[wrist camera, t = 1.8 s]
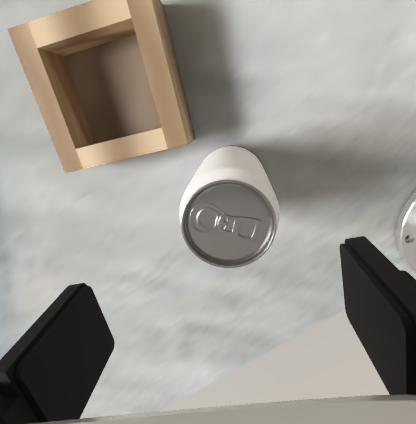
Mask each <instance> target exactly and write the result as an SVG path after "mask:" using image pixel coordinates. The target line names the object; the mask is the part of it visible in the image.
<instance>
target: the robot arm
mask: <svg viewBox="0 0 416 424" xmlns="http://www.w3.org/2000/svg"><path fill="white" fill-rule="evenodd" d="M396 242H397V247H398V250H399V253H400V255H401V257H402V259H403V260H404V261H405V262H406V264H407V265H408V266H409V267H410V268H411V269H412V270H414V271H415V272H416V191H415V192H414V193H413V194H412V196H411V197H410V198H409V200H408V201H407V203H406V204H405V206H404V208H403V210H402V212H401V214H400V216H399V219H398V223H397V227H396ZM340 256H341V266H342V277H343V288H344V299H345V309H346V313H347V317H348V319H349V321H350V323H351V325H352V326H353V328H354V330H355V332H356V334H357V335H358V337H359V339H360V341H361V343H362V344H363V346H364V348H365V350H366V352H367V354H368V355H369V357H370V359H371V361H372V363H373V365H374V366H375V368H376V370H377V372H378V374H379V375H380V377H381V379H382V381H383V383H384V385H385V387H386V388H387V390H388V392H389V394H390V395H372V396H355V397H339V398H324V399H308V400H295V401H282V402H270V403H257V404H245V405H234V406H221V407H209V408H198V409H186V410H173V411H162V412H150V413H139V414H128V415H116V416H105V417H94V418H84V419H79V418H80V416H81V414H82V412H83V410H84V408H85V406H86V404H87V402H88V400H89V398H90V396H91V394H92V392H93V390H94V388H95V386H96V384H97V382H98V380H99V378H100V376H101V373H102V371H103V369H104V367H105V365H106V363H107V361H108V359H109V357H110V355H111V353H112V351H113V349H114V339H113V336H112V334H111V332H110V329H109V327H108V325H107V322H106V320H105V318H104V316H103V313H102V311H101V309H100V306H99V304H98V302H97V299H96V297H95V295H94V292H93V290H92V288H91V287H90V286H87V285H86V284H85V283H81V284H75V285H70V286H68V287H67V288H66V289H65V290H64V291H63V292H62V293H61V294H60V295H59V297H58V298H57V299H56V300H55V301H54V302H53V303H52V304H51V305H50V306H49V307H48V309H47V310H46V311H45V312H44V313H43V314H42V315H41V316H40V317H39V318H38V319H37V321H36V322H35V323H34V324H33V325H32V326H31V327H30V328H29V329H28V330H27V331H26V333H25V334H24V335H23V336H22V337H21V338H20V339H19V340H18V341H17V342H16V343H15V345H14V346H13V347H12V348H11V349H10V350H9V351H8V352H7V353H6V354H5V355H4V357H3V358H2V359H1V360H0V424H416V280H415V279H414V278H413V277H412V276H411V275H410V274H409V273H407V272H406V271H400V270H398V269H397V268H396V267H395V266H394V265H393V264H392V263H391V262H390V261H389V260H388V259H387V258H386V257H385V256H384V255H383V254H382V253H381V252H380V251H379V250H378V249H377V248H376V247H375V246H374V245H373V244H372V243H371V242H370V241H369V240H368V239H367V238H366V237H364V236H362V237H356V238H350V239H346V240H345V244H341V245H340Z"/></svg>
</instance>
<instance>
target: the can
mask: <svg viewBox="0 0 416 424" xmlns="http://www.w3.org/2000/svg"><path fill="white" fill-rule="evenodd" d="M179 218H180V224H181V230H182V235H183V238H184V240H185V242H186V244H187V246H188V247H189V249H190V250H191V251H192V252H193V253H194V254H195V255H196V256H197V257H198V258H200V259H201V260H203V261H204V262H206V263H208V264H211V265H214V266H217V267H223V268H236V267H241V266H245V265H248V264H250V263H252V262H254V261H256V260H257V259H259V258H260V257H261V256H262V255H263V254H264V253H265V252H266V251H267V250H268V249H269V247H270V246H271V244H272V242H273V240H274V237H275V233H276V230H277V228H278V224H279V205H278V201H277V198H276V195H275V193H274V190H273V188H272V186H271V183H270V181H269V179H268V177H267V175H266V173H265V170H264V168H263V166H262V164H261V163H260V161H259V160H258V158H257V157H256V156H255V155H254V154H253V153H251V152H250V151H248V150H246V149H244V148H241V147H236V146H227V147H222V148H219V149H217V150H215V151H213V152H212V153H210V154H209V155H208V156H207V157H206V158H205V159H204V161H203V162H202V163H201V165H200V167H199V168H198V170H197V171H196V173H195V175H194V176H193V178H192V180H191V181H190V183H189V185H188V187H187V188H186V190H185V192H184V195H183V197H182V200H181V204H180V210H179Z"/></svg>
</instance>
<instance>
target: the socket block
mask: <svg viewBox="0 0 416 424" xmlns="http://www.w3.org/2000/svg"><path fill="white" fill-rule="evenodd" d="M8 32H9V34H10V37H11V39H12V42H13V44H14V47H15V49H16V52H17V54H18V57H19V59H20V62H21V64H22V67H23V69H24V72H25V74H26V77H27V79H28V82H29V84H30V87H31V89H32V92H33V94H34V96H35V99H36V101H37V104H38V106H39V109H40V111H41V114H42V116H43V119H44V121H45V124H46V126H47V129H48V131H49V134H50V136H51V139H52V141H53V144H54V146H55V149H56V151H57V154H58V156H59V159H60V161H61V164H62V166H63V169H64V171H65V173H68V172H72V171H76V170H80V169H85V168H89V167H93V166H98V165H102V164H106V163H110V162H115V161H119V160H123V159H127V158H132V157H136V156H140V155H145V154H149V153H153V152H157V151H162V150H166V149H170V148H174V147H179V146H183V145H187V144H189V143H190V142H192V141H193V140H194V139H195V135H194V131H193V127H192V123H191V119H190V115H189V110H188V106H187V102H186V98H185V94H184V90H183V86H182V82H181V77H180V73H179V69H178V65H177V61H176V57H175V53H174V49H173V44H172V40H171V36H170V32H169V28H168V24H167V20H166V16H165V11H164V7H163V4H162V3H161V1H160V0H92V1H89V2H86V3H83V4H80V5H77V6H74V7H71V8H68V9H65V10H62V11H59V12H57V13H54V14H51V15H48V16H45V17H42V18H39V19H36V20H33V21H30V22H27V23H24V24H21V25H18V26H15V27H12V28H9V29H8Z"/></svg>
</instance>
